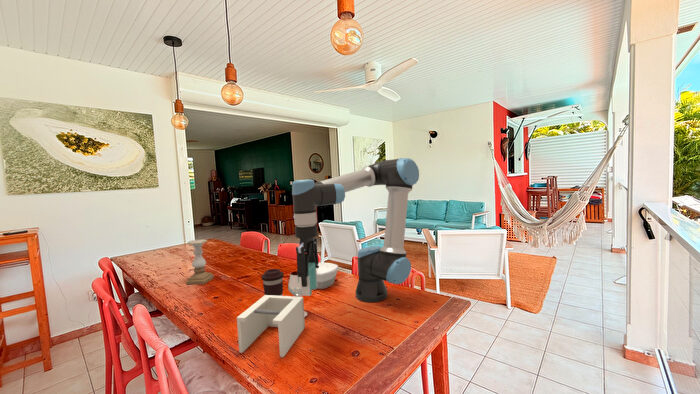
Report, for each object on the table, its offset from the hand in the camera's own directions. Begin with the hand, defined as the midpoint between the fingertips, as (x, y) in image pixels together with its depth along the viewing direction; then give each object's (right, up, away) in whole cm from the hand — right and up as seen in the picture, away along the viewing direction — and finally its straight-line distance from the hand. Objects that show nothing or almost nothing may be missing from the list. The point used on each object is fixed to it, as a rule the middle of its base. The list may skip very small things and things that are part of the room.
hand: (310, 290), depth 96 cm
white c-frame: (-13, -18, +3) cm, 23 cm away
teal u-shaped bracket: (0, 0, 0) cm, 0 cm away
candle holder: (-74, -17, +67) cm, 102 cm away
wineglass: (-7, -17, +20) cm, 28 cm away
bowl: (-2, -15, +54) cm, 56 cm away
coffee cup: (-22, -17, +34) cm, 44 cm away
